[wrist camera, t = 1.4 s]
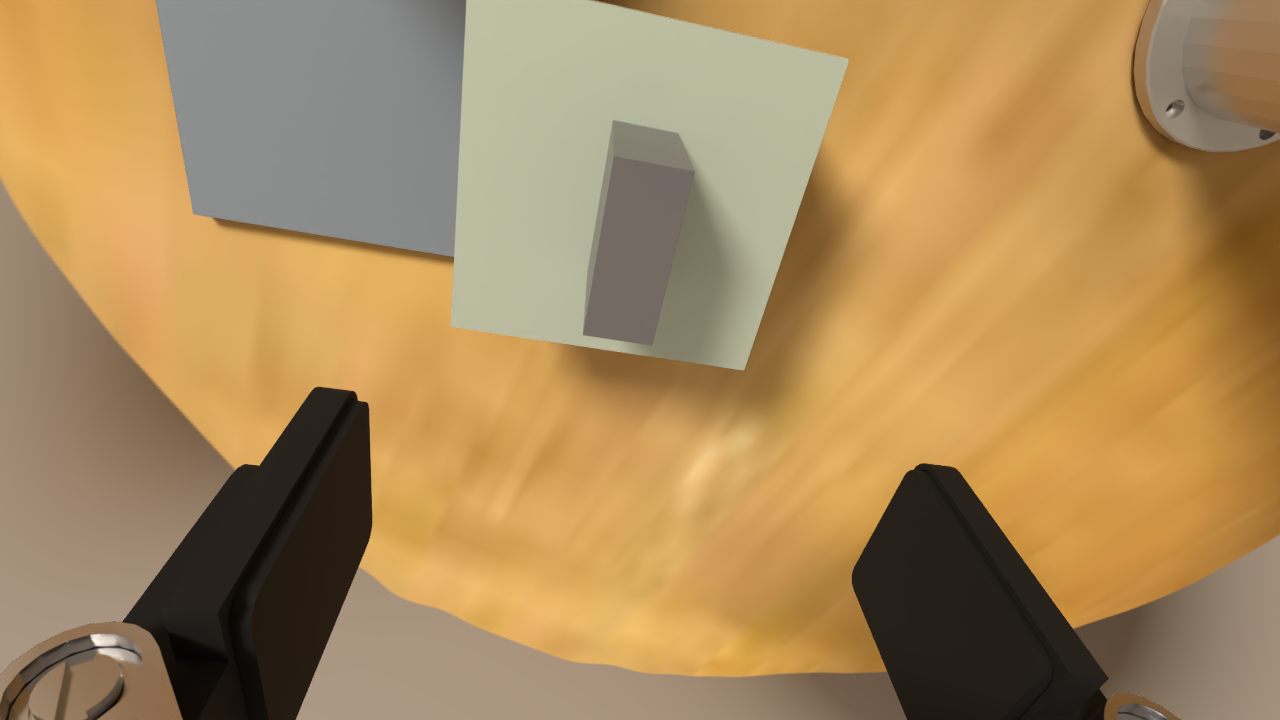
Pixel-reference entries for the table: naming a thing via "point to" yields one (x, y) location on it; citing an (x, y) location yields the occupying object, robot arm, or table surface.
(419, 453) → the table surface
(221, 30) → the mat
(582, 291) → the lid
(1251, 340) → the table surface
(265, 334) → the table surface
